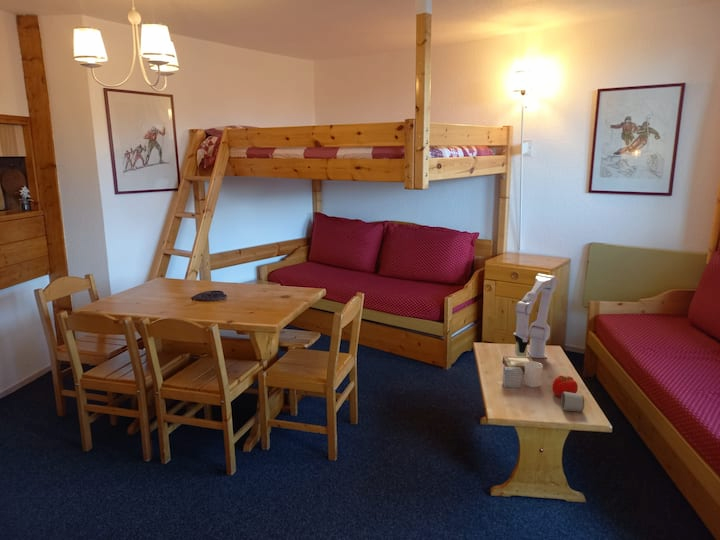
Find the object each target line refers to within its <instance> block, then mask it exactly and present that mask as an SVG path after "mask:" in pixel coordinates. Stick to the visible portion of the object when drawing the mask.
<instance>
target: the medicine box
mask: <svg viewBox="0 0 720 540" xmlns="http://www.w3.org/2000/svg"><path fill="white" fill-rule="evenodd" d="M522 381H523V372H522V370H521V368H520V367H506V366H503V372H502V385H503V387H504V388H516V389H517V388H522Z"/></svg>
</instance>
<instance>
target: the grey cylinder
mask: <svg viewBox="0 0 720 540" xmlns="http://www.w3.org/2000/svg"><path fill="white" fill-rule="evenodd" d="M560 402H561V403H560V405H561V409H562V410H563V411H569V412H570V411H571V412H583V411H584V410H585V409H584V408H585V397H584V395H583V394H582V393H581V394H580V393H577V392H576V393H570V392H563V393H562V397H561V401H560Z"/></svg>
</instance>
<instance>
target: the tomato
mask: <svg viewBox="0 0 720 540" xmlns="http://www.w3.org/2000/svg"><path fill="white" fill-rule="evenodd" d="M578 386H579V385H578V383H577V381H576V380H574V378H573V377H572V376H566V375H558V376H557V377H555V379H553V382H552V389H551V390H552V392H553V394H554V395H556V396H557V397H560V398H562V393H563V392H570V393H576V394H577V392H578V388H579V387H578Z"/></svg>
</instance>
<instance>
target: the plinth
mask: <svg viewBox="0 0 720 540" xmlns="http://www.w3.org/2000/svg"><path fill="white" fill-rule="evenodd" d="M528 361H533V359H532V357H531V356H502V362H503V363H504V367H520V368H521V370H522V373H525V363H526V362H528Z"/></svg>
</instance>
